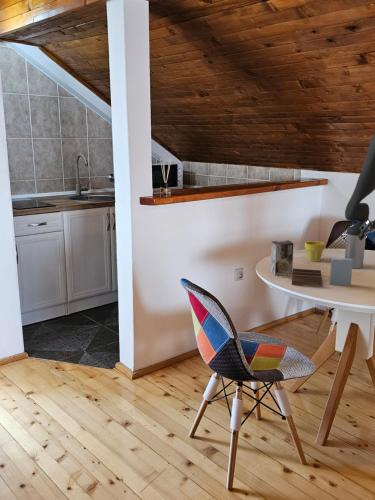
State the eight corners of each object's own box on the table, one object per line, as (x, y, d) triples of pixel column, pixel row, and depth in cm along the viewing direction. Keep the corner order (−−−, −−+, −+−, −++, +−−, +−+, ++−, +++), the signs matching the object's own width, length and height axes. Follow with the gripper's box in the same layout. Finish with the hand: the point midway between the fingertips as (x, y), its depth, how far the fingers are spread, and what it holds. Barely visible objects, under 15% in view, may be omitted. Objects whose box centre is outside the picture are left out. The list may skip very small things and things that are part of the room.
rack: (292, 277, 226) (292, 268, 225) (320, 279, 223) (320, 270, 222) (291, 284, 215) (292, 275, 214) (321, 286, 212) (321, 277, 211)
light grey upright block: (329, 282, 218) (331, 257, 216) (349, 284, 216) (352, 258, 213) (329, 284, 215) (331, 259, 213) (350, 286, 213) (352, 260, 211)
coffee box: (287, 271, 236) (289, 240, 233) (292, 275, 230) (294, 242, 226) (270, 272, 235) (271, 240, 231) (274, 276, 229) (276, 243, 225)
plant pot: (301, 258, 263) (302, 240, 261) (320, 258, 263) (321, 240, 261) (306, 262, 253) (308, 245, 251) (326, 262, 253) (327, 245, 251)
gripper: (398, 209, 201) (376, 236, 212) (372, 204, 196) (350, 232, 207) (407, 221, 196) (383, 248, 207) (380, 216, 191) (357, 244, 202)
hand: (367, 240), depth 207 cm, fingers open, 8 cm apart
